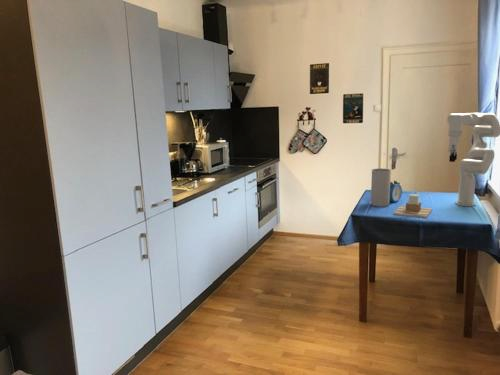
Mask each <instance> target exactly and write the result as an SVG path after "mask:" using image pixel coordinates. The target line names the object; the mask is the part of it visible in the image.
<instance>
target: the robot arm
mask: <svg viewBox="0 0 500 375" xmlns="http://www.w3.org/2000/svg"><path fill="white" fill-rule="evenodd" d="M446 121H447V123H448V134H447V135H448V137H449V140H448V151H447V152H449V162H453V163H455V162H456V160H457V157H458V151H459V144H460V137H462V132H463V126H468V127H473V130H472V135H473V136H472V137H473V143H472V146H471V148H470V149H469V151H468V153H467V158H464V159H461V160H460V161H459V167H458V168H459V184H458V185H459V186H458V196H457V197H458V198H457V200H456V201H455V204H456V205H457V206H463V207H475V206H476V205H477V203H476V202H474V201H475V189H476V177H475V176H474V175H475V174H476V175H485V174H486V173H487V172H488V171H489V169H490V167H491V165H492V163H493V162H494V159H495V151H494V150H493V149H492V148H488V143H487V141H486V140H485V139H484V138H497V137H499V136H500V122H499V119H498V117H497V115H496V114H495V113H494V112H493V113H492V112H484V113H483V112H466V113H462V112H459V113H457V112H456V113H454V112H453V113H450V114H449V115H448V116H447V119H446Z"/></svg>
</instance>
